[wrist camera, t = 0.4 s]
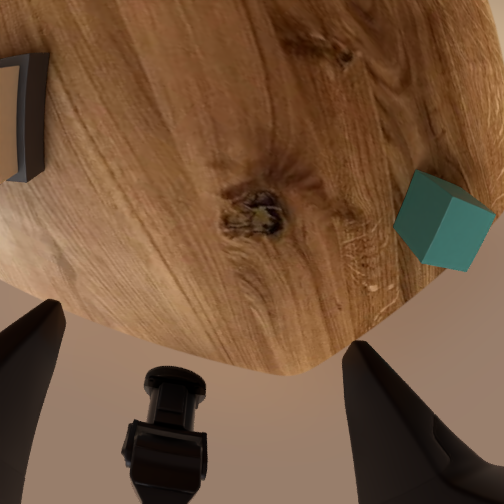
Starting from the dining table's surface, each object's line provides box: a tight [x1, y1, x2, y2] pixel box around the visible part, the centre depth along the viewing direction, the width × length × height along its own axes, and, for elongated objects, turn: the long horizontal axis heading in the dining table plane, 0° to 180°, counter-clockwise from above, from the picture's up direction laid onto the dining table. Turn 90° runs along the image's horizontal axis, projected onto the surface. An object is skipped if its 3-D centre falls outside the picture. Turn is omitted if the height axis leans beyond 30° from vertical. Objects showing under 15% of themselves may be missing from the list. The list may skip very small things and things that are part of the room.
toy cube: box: [393, 170, 496, 272], centre depth 19 cm, size 5×5×5 cm
